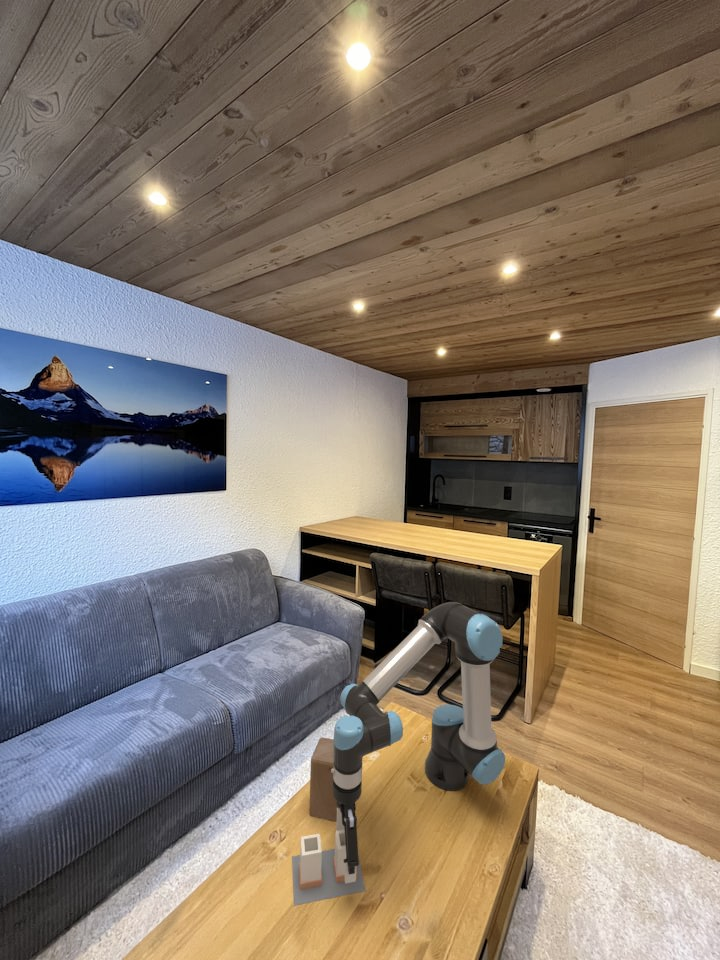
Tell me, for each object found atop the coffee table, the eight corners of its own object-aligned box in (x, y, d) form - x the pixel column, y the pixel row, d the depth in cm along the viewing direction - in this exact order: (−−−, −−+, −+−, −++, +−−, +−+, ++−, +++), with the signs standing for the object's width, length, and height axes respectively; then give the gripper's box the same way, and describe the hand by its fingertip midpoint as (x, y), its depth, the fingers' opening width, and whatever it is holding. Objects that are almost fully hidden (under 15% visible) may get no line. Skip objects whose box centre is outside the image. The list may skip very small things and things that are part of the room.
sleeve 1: (319, 863, 107) (320, 832, 107) (321, 885, 102) (322, 853, 101) (299, 867, 106) (299, 836, 106) (300, 889, 101) (301, 856, 100)
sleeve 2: (353, 857, 109) (354, 827, 109) (357, 878, 104) (358, 846, 103) (333, 861, 108) (334, 830, 107) (336, 882, 103) (337, 850, 102)
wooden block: (340, 827, 119) (342, 764, 118) (308, 820, 121) (309, 758, 120) (347, 799, 129) (349, 740, 128) (318, 792, 131) (319, 735, 130)
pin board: (356, 849, 113) (356, 825, 112) (365, 896, 101) (366, 869, 101) (291, 861, 109) (292, 836, 109) (293, 911, 97) (294, 882, 97)
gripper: (327, 745, 115) (325, 813, 117) (340, 825, 91) (338, 910, 93) (352, 742, 117) (350, 809, 119) (372, 820, 93) (370, 903, 94)
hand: (345, 853), depth 106 cm, fingers open, 13 cm apart
